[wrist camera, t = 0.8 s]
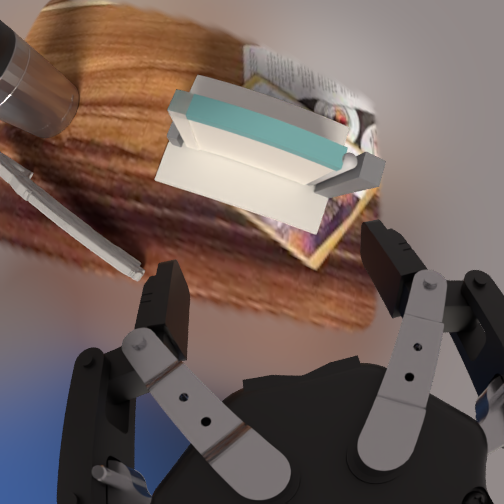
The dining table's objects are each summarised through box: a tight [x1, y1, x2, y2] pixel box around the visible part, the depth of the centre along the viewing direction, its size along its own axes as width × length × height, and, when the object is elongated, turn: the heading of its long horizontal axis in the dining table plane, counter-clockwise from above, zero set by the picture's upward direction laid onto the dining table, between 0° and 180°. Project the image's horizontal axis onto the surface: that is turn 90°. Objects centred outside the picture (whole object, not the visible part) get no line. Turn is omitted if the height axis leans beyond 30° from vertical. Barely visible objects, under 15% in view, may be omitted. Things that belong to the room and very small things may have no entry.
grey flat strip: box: [0, 152, 145, 281], centre depth 34 cm, size 2×30×8 cm, turn 53°
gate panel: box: [168, 89, 357, 186], centre depth 30 cm, size 16×2×13 cm, turn 71°
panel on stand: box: [155, 75, 386, 234], centre depth 30 cm, size 21×15×15 cm
